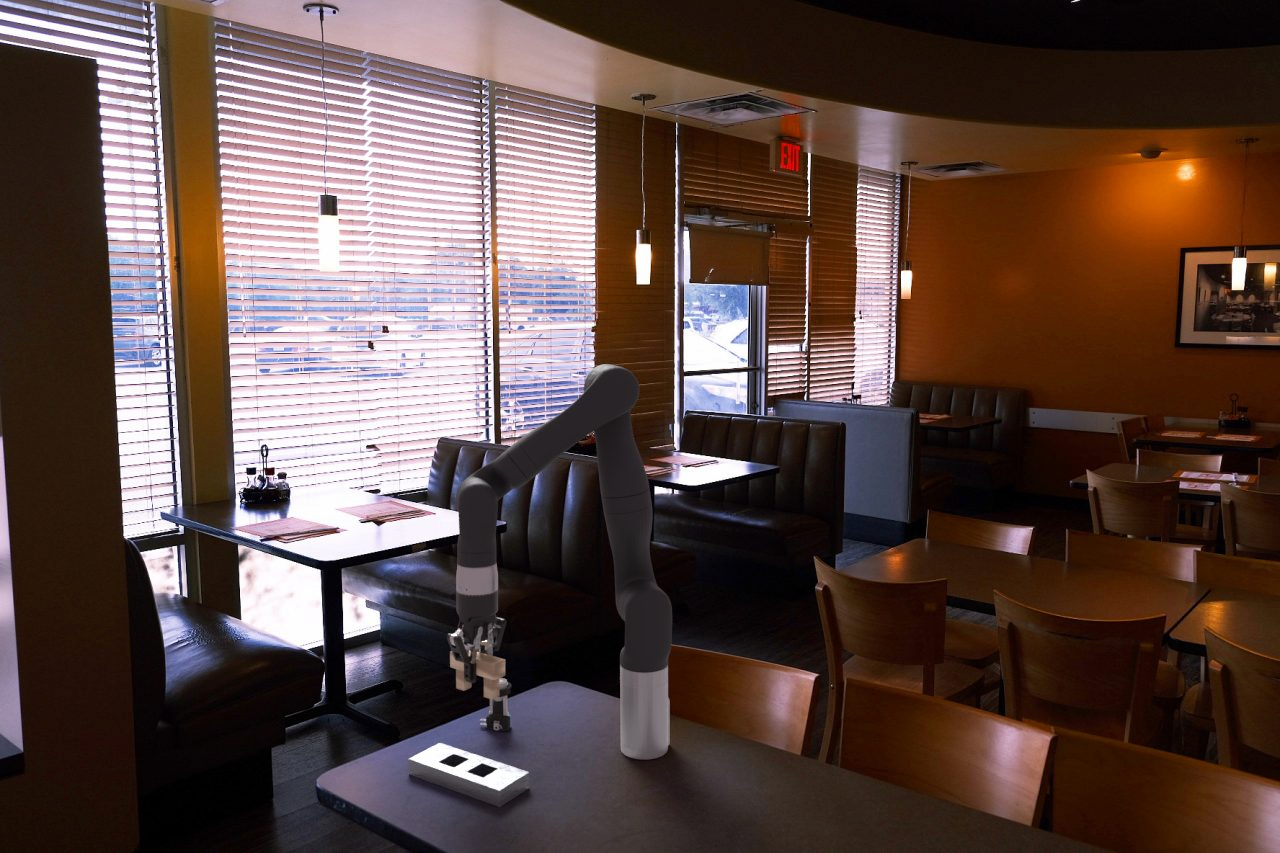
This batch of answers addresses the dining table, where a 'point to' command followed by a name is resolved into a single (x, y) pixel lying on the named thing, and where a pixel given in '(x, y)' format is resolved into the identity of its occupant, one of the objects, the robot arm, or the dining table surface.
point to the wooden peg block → (481, 673)
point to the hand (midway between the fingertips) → (477, 678)
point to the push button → (499, 709)
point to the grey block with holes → (469, 774)
